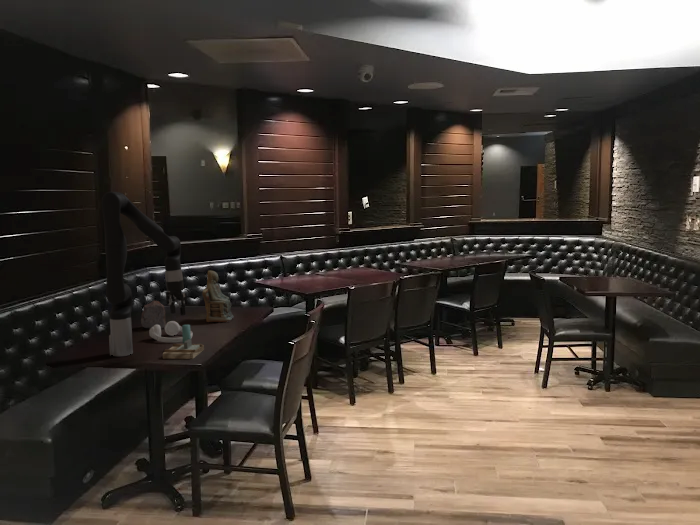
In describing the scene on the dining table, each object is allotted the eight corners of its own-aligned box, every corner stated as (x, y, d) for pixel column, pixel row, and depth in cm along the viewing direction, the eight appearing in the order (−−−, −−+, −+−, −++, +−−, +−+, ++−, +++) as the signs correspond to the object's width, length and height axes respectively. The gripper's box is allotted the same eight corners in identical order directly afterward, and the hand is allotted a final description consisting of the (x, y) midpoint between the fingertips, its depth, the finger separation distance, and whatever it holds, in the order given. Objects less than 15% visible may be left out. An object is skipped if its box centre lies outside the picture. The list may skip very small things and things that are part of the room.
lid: (175, 351, 268) (175, 343, 268) (182, 346, 277) (181, 338, 276) (193, 351, 268) (193, 343, 267) (199, 346, 276) (199, 338, 276)
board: (162, 358, 265) (162, 351, 265) (175, 349, 281) (175, 342, 281) (193, 358, 264) (192, 351, 264) (204, 349, 280) (203, 342, 280)
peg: (181, 348, 282) (180, 326, 281) (184, 346, 286) (183, 324, 285) (189, 348, 282) (188, 326, 281) (192, 346, 286) (191, 324, 285)
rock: (173, 326, 333) (172, 300, 331) (158, 330, 322) (157, 304, 320) (154, 324, 339) (153, 298, 337) (139, 328, 328) (138, 302, 326)
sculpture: (227, 324, 336) (225, 273, 333) (200, 324, 336) (198, 273, 333) (236, 316, 360) (235, 268, 357) (211, 316, 361) (209, 268, 357)
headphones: (144, 340, 300) (171, 348, 290) (144, 325, 299) (172, 333, 289) (174, 332, 317) (200, 340, 307) (174, 318, 316) (201, 325, 306)
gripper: (158, 280, 270) (162, 314, 272) (175, 281, 261) (179, 317, 263) (173, 277, 276) (177, 311, 278) (190, 279, 266) (193, 314, 268)
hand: (178, 314), depth 270 cm, fingers open, 8 cm apart
